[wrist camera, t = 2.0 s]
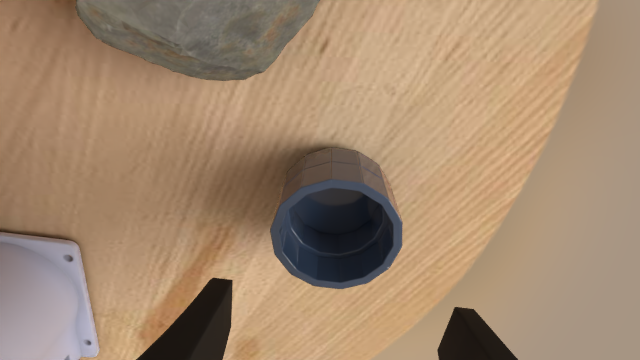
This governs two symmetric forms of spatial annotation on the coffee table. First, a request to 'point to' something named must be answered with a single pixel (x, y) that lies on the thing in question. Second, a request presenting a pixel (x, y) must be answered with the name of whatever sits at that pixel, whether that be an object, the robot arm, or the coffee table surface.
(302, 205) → the bowl
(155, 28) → the stone
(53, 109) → the coffee table surface
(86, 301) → the robot arm
